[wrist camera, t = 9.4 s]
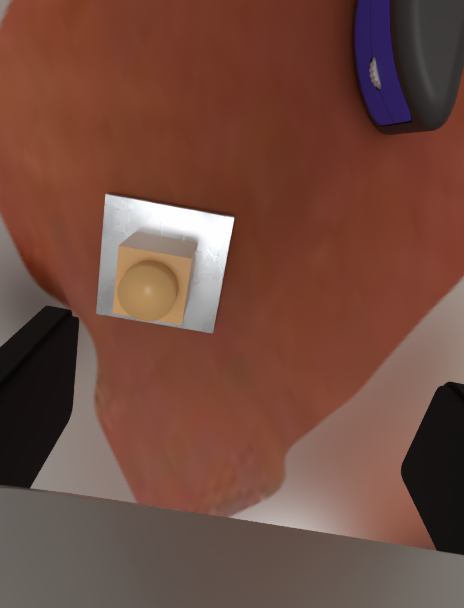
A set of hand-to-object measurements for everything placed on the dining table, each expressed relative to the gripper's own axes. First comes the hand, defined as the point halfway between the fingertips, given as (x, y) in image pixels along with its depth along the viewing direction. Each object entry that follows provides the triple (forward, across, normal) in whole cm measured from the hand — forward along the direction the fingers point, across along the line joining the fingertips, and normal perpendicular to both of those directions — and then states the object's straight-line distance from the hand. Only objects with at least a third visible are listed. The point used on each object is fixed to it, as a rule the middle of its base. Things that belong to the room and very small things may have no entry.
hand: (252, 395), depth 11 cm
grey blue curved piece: (+26, -8, -16) cm, 31 cm away
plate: (+25, +5, +5) cm, 26 cm away
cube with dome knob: (+24, +5, +5) cm, 25 cm away
